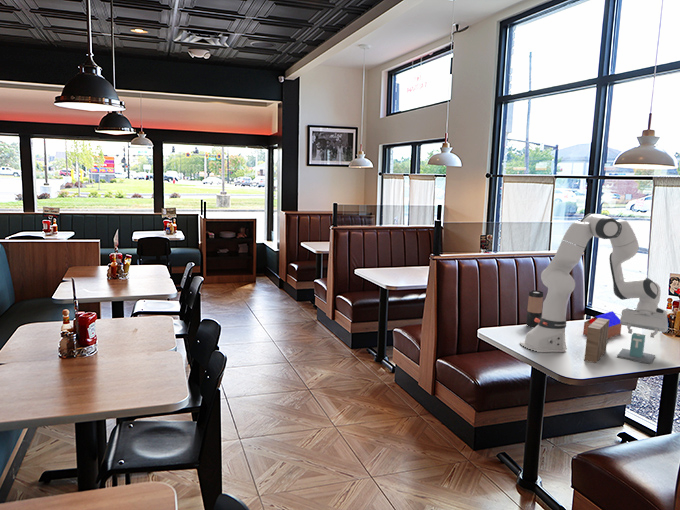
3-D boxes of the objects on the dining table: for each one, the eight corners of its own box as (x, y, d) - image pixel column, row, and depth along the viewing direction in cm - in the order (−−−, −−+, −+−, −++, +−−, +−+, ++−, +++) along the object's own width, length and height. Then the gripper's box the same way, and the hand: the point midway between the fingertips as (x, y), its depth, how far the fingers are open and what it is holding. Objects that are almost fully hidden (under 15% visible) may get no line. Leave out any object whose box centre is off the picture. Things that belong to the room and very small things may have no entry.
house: (621, 334, 286) (623, 313, 285) (604, 340, 274) (606, 318, 272) (599, 328, 296) (601, 308, 294) (582, 334, 283) (584, 313, 281)
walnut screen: (595, 362, 238) (599, 329, 236) (584, 360, 241) (587, 327, 239) (605, 351, 255) (609, 319, 253) (594, 348, 258) (598, 317, 256)
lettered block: (641, 357, 245) (643, 337, 243) (629, 355, 248) (631, 334, 246) (642, 355, 249) (645, 334, 247) (631, 352, 252) (633, 332, 250)
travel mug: (541, 328, 291) (544, 293, 288) (527, 327, 292) (530, 292, 289) (539, 324, 298) (542, 290, 295) (525, 323, 300) (528, 289, 297)
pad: (650, 364, 239) (651, 362, 239) (617, 357, 247) (617, 355, 247) (655, 356, 250) (655, 354, 250) (622, 349, 258) (622, 348, 258)
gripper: (622, 304, 262) (616, 327, 255) (670, 311, 249) (665, 335, 243) (623, 311, 266) (617, 334, 260) (670, 318, 253) (665, 342, 247)
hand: (640, 335), depth 251 cm, fingers open, 8 cm apart
